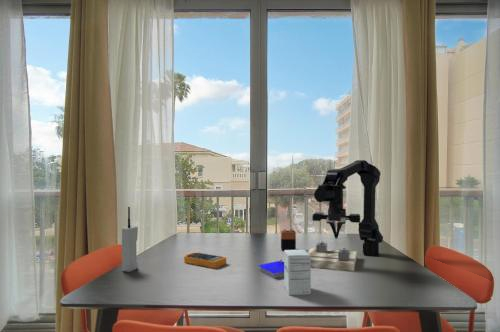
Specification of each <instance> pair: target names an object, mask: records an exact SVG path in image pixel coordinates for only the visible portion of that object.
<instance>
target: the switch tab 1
mask: <svg viewBox="0 0 500 332" xmlns="http://www.w3.org/2000/svg"><path fill="white" fill-rule="evenodd" d="M315 248H316V252H323V253H326V251H327V249H328V243H327V242H324V240H321V242H317V244H316V247H315Z"/></svg>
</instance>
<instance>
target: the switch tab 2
mask: <svg viewBox="0 0 500 332" xmlns="http://www.w3.org/2000/svg"><path fill="white" fill-rule="evenodd" d="M338 250H339V252H338V260H346V261H349V258H350V251H351V250H350V249H346V247H343V248H342V249H338Z"/></svg>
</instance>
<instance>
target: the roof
mask: <svg viewBox="0 0 500 332" xmlns="http://www.w3.org/2000/svg"><path fill="white" fill-rule="evenodd" d="M257 267H259V268H260V270H259V271H260V272H262V273H264V274H266V275H267V276H270V277H271V278H273V279H278V278H284V260H283V261H282V259H279V260H277V261H272V262H268V263H263V264H258V265H257Z"/></svg>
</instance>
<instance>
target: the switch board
mask: <svg viewBox="0 0 500 332" xmlns="http://www.w3.org/2000/svg"><path fill="white" fill-rule="evenodd" d="M307 252H308V253H309V254H310V257H311V268H314V269H315V268H316V269H327V270H337V271H348V272H354V271H355V267H356V264H357V259H358V258H357V257H358V254H357V253H358V251H356V250H350V258H349V261H346V260H338V252H339V249H331V248H330V249H329V248H327V251H326V253H323V252H316V247H311V248H310V249H309V250H308V251H307Z"/></svg>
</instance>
